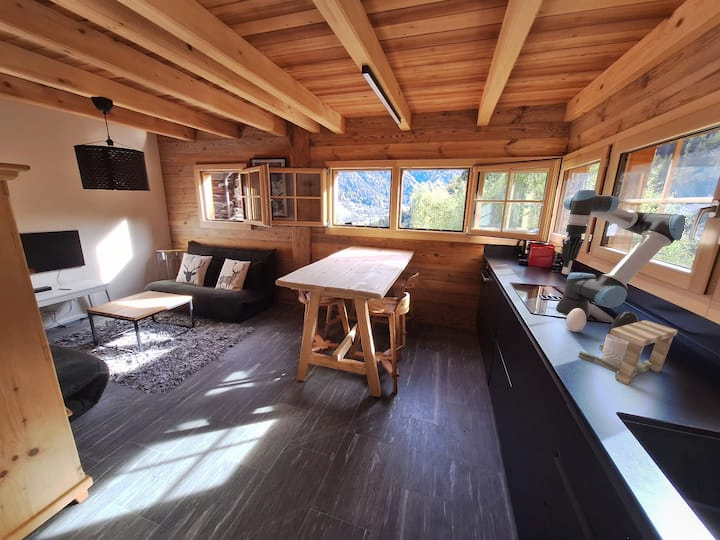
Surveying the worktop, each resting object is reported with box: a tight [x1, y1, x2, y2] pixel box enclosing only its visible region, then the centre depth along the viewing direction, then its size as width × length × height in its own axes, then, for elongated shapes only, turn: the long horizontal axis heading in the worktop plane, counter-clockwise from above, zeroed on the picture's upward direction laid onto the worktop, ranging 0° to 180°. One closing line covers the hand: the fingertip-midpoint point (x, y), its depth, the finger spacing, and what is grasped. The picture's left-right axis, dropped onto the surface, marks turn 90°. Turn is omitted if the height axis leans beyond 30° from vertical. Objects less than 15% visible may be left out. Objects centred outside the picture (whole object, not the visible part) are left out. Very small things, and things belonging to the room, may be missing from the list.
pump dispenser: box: [607, 310, 640, 335], centre depth 124 cm, size 10×10×15 cm
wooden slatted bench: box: [578, 319, 679, 386], centre depth 107 cm, size 24×18×17 cm
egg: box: [565, 308, 587, 333], centre depth 135 cm, size 7×7×12 cm
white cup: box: [600, 333, 629, 367], centre depth 109 cm, size 8×8×10 cm
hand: (565, 273), depth 137 cm, fingers closed
